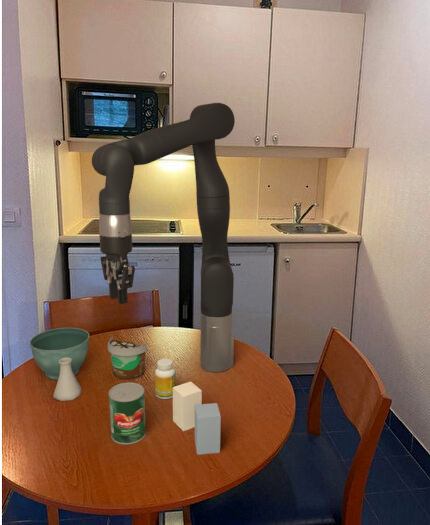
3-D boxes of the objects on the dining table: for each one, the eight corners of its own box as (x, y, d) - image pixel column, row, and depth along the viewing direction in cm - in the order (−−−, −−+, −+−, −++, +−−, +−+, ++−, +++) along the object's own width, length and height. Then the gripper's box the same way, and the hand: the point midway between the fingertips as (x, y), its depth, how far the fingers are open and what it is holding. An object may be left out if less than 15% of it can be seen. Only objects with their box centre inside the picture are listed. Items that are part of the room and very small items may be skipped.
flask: (73, 403, 115) (70, 368, 112) (47, 400, 116) (44, 365, 114) (86, 389, 122) (84, 355, 119) (62, 386, 123) (59, 352, 121)
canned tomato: (133, 419, 108) (131, 378, 106) (152, 434, 103) (151, 391, 100) (104, 433, 103) (101, 390, 100) (123, 449, 97) (121, 405, 95)
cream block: (190, 414, 111) (190, 381, 109) (201, 424, 107) (201, 390, 105) (173, 420, 108) (172, 387, 106) (183, 431, 104) (183, 396, 102)
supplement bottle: (156, 389, 122) (155, 357, 120) (176, 389, 122) (175, 357, 120) (154, 400, 117) (153, 366, 114) (175, 399, 117) (174, 366, 115)
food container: (99, 376, 128) (98, 344, 126) (112, 367, 134) (110, 336, 131) (136, 385, 124) (135, 352, 121) (148, 375, 129) (147, 343, 127)
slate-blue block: (216, 438, 102) (216, 403, 100) (220, 452, 97) (220, 416, 95) (194, 440, 101) (194, 404, 99) (197, 454, 96) (197, 417, 94)
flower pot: (26, 368, 132) (23, 334, 129) (80, 355, 141) (78, 323, 139) (41, 392, 119) (38, 355, 117) (99, 376, 129) (97, 341, 126)
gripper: (88, 229, 109) (92, 296, 113) (114, 239, 98) (118, 312, 103) (116, 226, 114) (119, 290, 118) (144, 235, 103) (146, 305, 107)
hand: (118, 300), depth 110 cm, fingers open, 4 cm apart
